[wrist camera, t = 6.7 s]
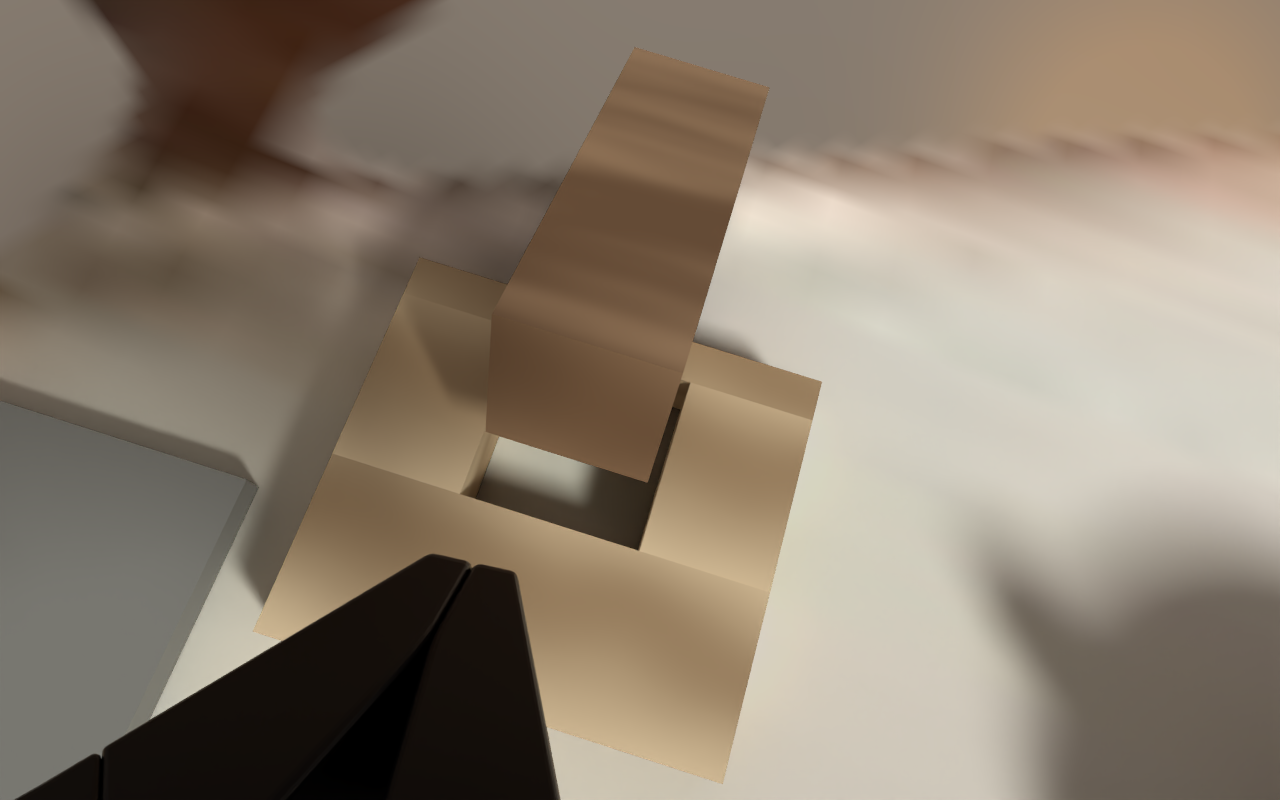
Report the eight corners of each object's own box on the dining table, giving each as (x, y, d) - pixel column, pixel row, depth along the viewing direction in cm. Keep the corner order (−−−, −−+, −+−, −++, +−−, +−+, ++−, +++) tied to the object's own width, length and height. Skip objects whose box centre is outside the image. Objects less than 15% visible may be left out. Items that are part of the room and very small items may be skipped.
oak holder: (707, 775, 19) (722, 784, 17) (283, 637, 19) (253, 631, 18) (800, 408, 22) (821, 382, 20) (432, 294, 22) (419, 257, 21)
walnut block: (682, 373, 15) (769, 87, 21) (491, 314, 15) (634, 47, 21) (647, 482, 18) (733, 200, 24) (485, 431, 18) (614, 163, 24)
